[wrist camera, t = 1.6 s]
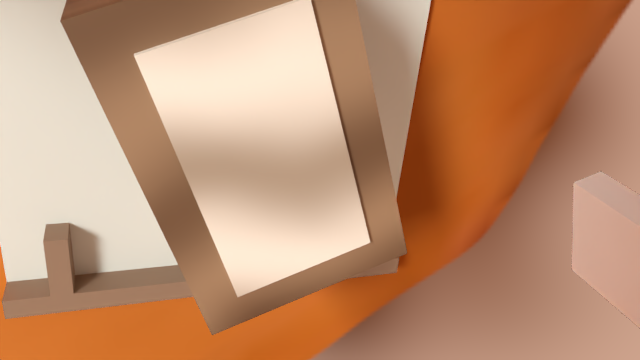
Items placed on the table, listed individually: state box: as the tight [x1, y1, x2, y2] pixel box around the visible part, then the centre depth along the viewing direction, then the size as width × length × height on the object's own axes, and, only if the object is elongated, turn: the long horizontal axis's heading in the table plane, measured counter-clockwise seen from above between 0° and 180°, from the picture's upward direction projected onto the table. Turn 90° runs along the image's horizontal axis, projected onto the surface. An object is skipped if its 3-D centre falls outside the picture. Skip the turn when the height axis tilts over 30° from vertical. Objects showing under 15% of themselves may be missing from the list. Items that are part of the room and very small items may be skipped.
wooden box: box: [60, 0, 407, 335], centre depth 22 cm, size 12×8×9 cm, turn 14°
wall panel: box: [0, 0, 431, 319], centre depth 27 cm, size 18×20×2 cm
